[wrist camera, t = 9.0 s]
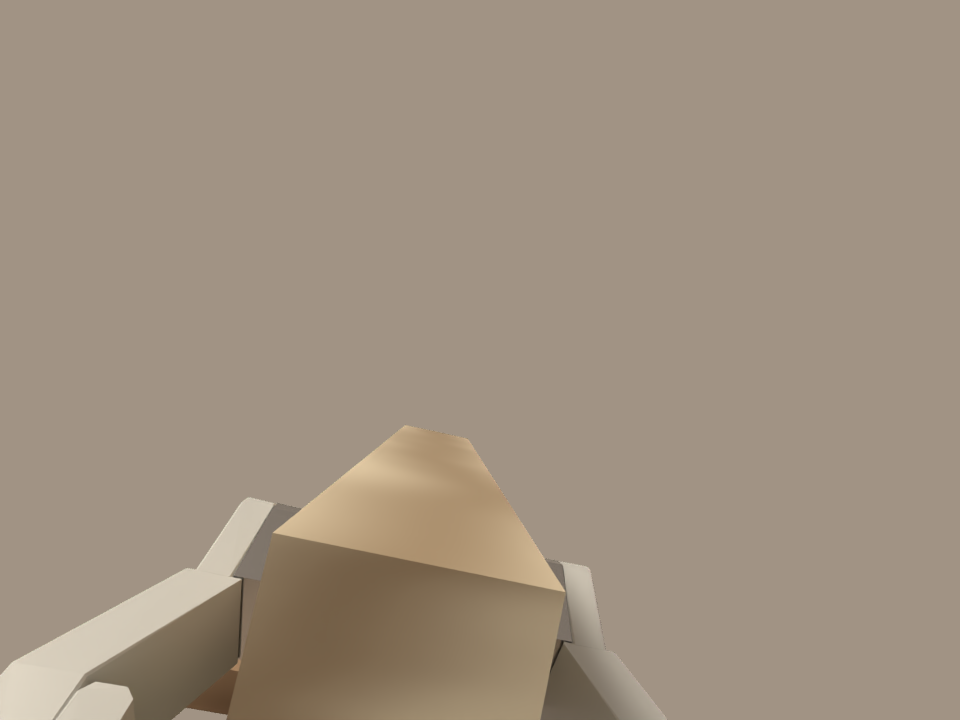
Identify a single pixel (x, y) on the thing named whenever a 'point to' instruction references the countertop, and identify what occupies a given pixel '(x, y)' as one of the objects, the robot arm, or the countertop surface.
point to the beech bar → (402, 598)
